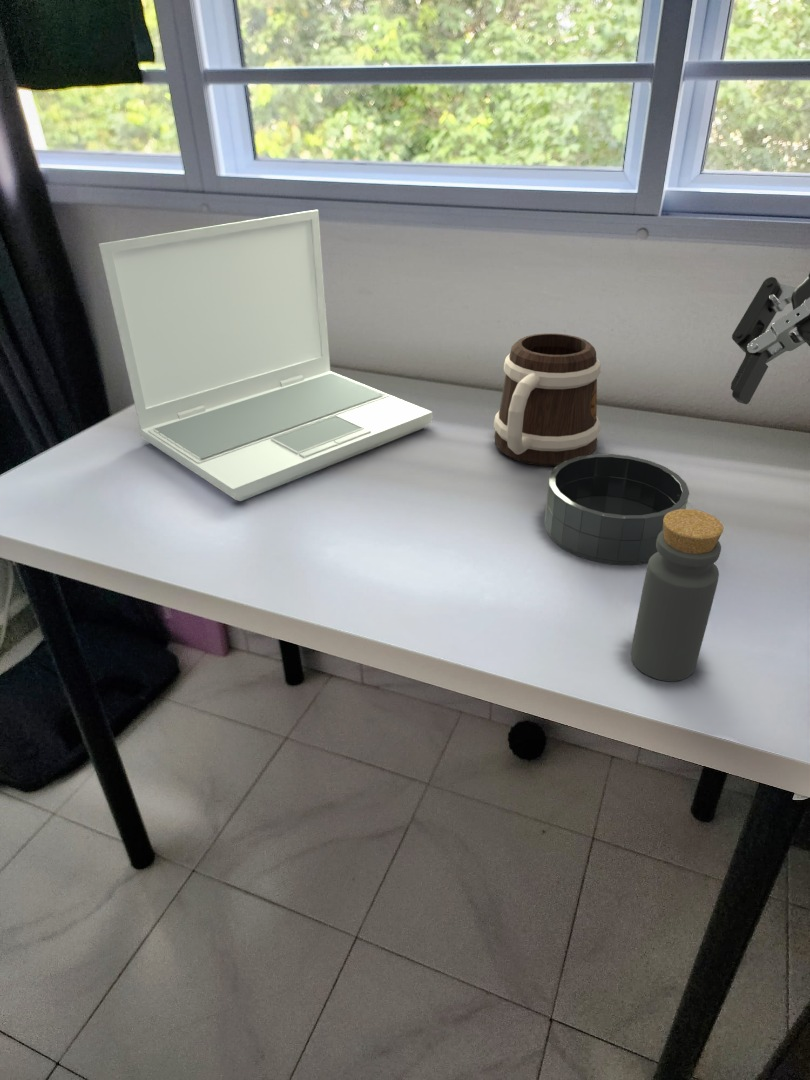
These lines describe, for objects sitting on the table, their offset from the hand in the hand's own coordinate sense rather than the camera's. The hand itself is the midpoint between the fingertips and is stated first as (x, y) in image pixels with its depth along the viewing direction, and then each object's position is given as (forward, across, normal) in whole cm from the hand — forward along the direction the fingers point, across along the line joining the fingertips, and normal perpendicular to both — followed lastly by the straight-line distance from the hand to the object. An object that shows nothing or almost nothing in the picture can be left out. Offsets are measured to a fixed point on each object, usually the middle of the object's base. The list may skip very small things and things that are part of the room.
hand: (786, 414), depth 61 cm
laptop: (+23, -68, +2) cm, 72 cm away
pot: (+14, -20, +17) cm, 30 cm away
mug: (+9, -40, +23) cm, 48 cm away
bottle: (+24, -2, +6) cm, 24 cm away
